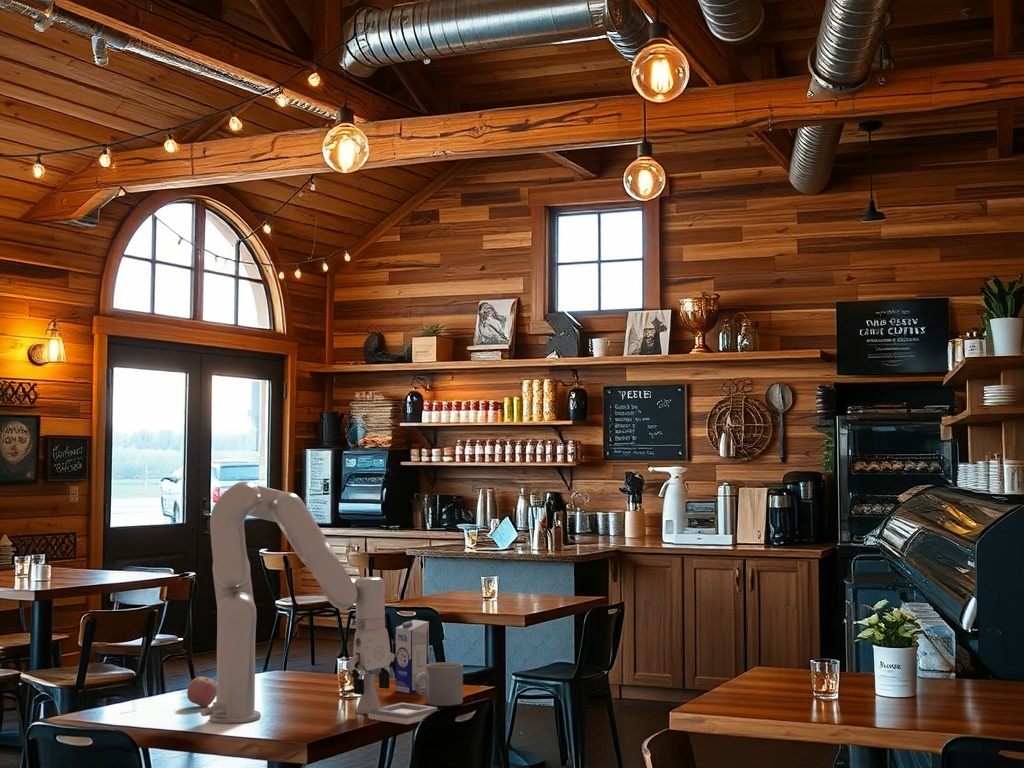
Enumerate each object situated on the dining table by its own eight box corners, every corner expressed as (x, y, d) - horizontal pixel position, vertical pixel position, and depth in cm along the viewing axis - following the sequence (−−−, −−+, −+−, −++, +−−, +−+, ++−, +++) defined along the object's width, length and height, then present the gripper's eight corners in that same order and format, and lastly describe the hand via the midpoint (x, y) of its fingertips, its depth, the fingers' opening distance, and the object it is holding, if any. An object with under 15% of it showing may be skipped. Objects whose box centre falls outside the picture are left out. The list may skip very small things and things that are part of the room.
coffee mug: (460, 698, 331) (460, 661, 332) (464, 705, 322) (464, 667, 323) (412, 700, 329) (412, 663, 330) (415, 706, 320) (415, 668, 320)
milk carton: (429, 691, 342) (429, 620, 344) (410, 694, 338) (410, 622, 339) (413, 688, 348) (414, 618, 349) (395, 691, 343) (395, 620, 345)
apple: (200, 711, 315) (201, 680, 316) (180, 708, 319) (181, 677, 320) (223, 706, 322) (223, 675, 322) (203, 703, 326) (203, 673, 326)
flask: (385, 710, 315) (386, 671, 316) (380, 715, 308) (380, 675, 309) (358, 709, 316) (359, 671, 317) (352, 714, 309) (352, 675, 310)
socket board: (407, 724, 296) (407, 715, 296) (368, 718, 304) (368, 709, 304) (440, 716, 307) (440, 707, 307) (401, 710, 314) (401, 702, 314)
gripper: (358, 629, 305) (359, 698, 303) (403, 621, 319) (404, 687, 317) (336, 628, 309) (338, 695, 308) (381, 620, 323) (383, 684, 322)
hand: (371, 691), depth 313 cm, fingers open, 9 cm apart
